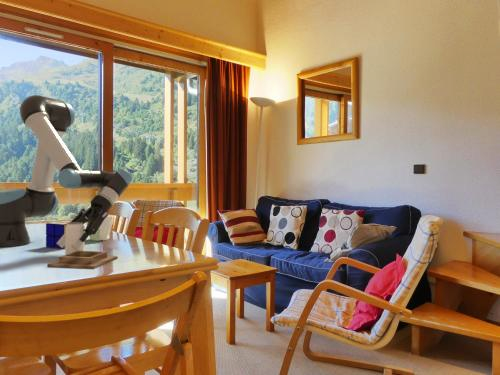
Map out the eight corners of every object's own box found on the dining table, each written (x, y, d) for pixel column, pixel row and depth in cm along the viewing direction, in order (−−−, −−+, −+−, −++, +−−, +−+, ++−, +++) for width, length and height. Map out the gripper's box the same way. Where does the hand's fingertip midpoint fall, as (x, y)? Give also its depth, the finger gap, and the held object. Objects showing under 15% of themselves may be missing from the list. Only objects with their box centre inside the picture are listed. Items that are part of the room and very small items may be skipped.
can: (77, 257, 141) (77, 224, 141) (61, 256, 142) (61, 223, 142) (88, 254, 147) (88, 222, 147) (72, 253, 148) (72, 221, 148)
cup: (107, 241, 176) (108, 217, 176) (80, 241, 176) (80, 216, 176) (117, 237, 189) (117, 214, 188) (92, 237, 189) (92, 214, 189)
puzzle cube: (45, 247, 161) (45, 223, 160) (65, 243, 170) (65, 220, 170) (63, 249, 157) (63, 224, 157) (82, 245, 166) (82, 222, 166)
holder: (47, 266, 126) (47, 258, 126) (75, 256, 141) (75, 249, 141) (94, 268, 124) (94, 259, 124) (117, 258, 140) (117, 250, 139)
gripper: (127, 208, 152) (91, 256, 139) (93, 205, 163) (56, 249, 150) (116, 194, 147) (77, 243, 134) (82, 193, 158) (43, 237, 145)
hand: (66, 246), depth 142 cm, fingers open, 8 cm apart
